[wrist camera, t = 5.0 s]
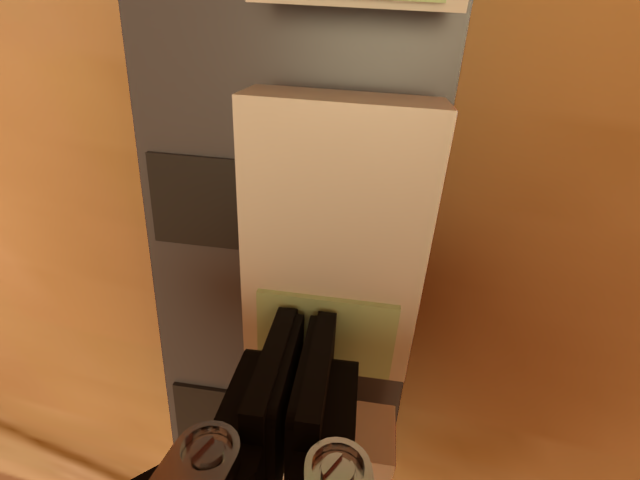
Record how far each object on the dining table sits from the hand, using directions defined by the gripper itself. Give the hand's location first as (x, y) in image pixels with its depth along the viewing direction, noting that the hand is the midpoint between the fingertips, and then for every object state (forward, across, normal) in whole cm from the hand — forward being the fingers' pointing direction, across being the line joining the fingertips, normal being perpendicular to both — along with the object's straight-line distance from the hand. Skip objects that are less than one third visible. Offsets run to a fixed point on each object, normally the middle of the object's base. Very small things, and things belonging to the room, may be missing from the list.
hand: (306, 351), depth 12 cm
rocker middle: (+1, 0, -3) cm, 3 cm away
